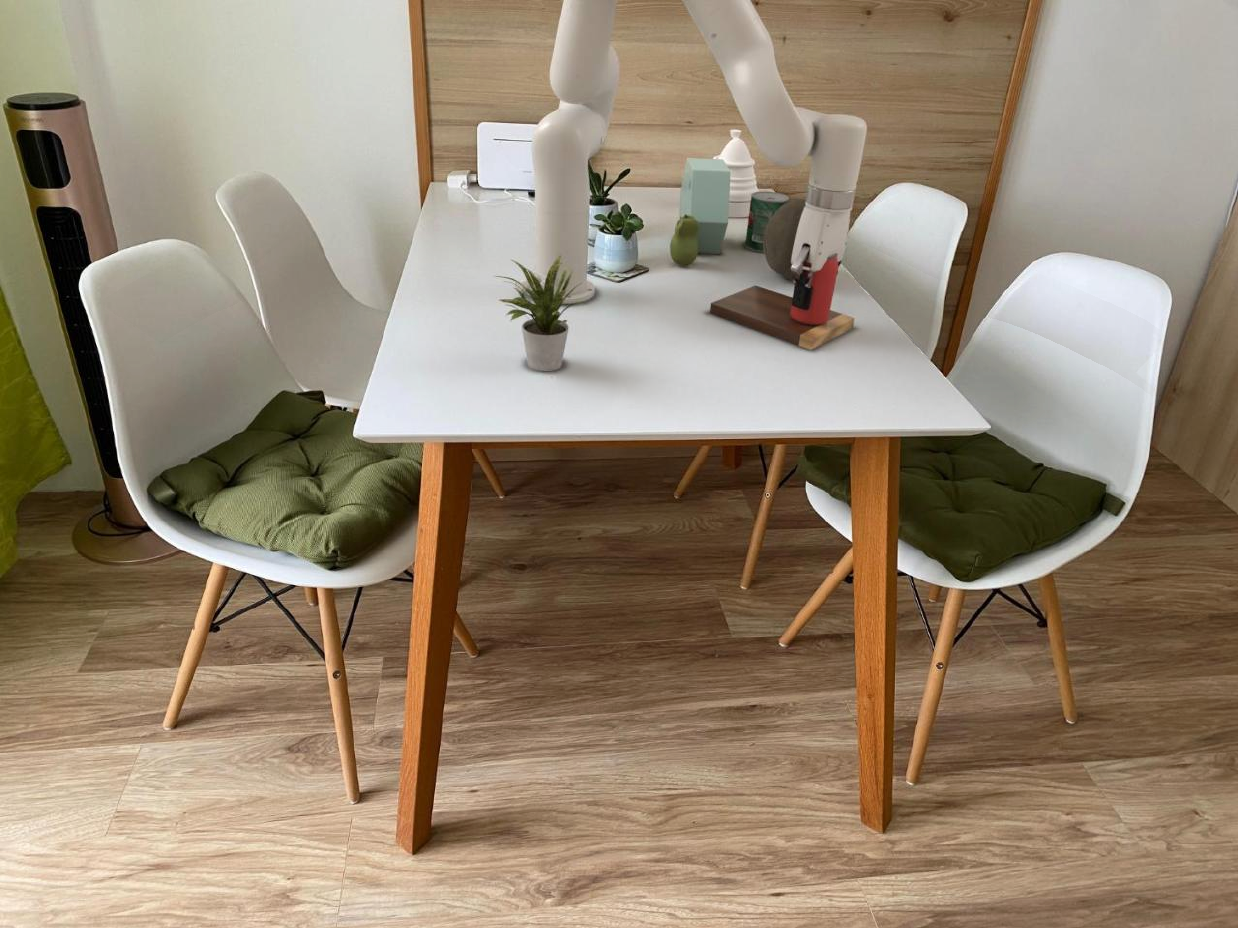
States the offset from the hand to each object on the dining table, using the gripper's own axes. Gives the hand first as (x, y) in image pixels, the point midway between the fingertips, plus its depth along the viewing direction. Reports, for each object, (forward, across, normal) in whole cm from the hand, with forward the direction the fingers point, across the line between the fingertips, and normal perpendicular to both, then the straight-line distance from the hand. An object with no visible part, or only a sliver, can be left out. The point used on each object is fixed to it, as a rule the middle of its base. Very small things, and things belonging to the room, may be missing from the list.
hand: (811, 301), depth 155 cm
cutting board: (+5, 0, -6) cm, 8 cm away
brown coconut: (+5, -22, -16) cm, 28 cm away
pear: (+5, -10, -36) cm, 37 cm away
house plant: (+5, +43, -21) cm, 48 cm away
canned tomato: (+5, -33, -32) cm, 46 cm away
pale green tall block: (+5, -22, -40) cm, 46 cm away
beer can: (+3, 0, 0) cm, 3 cm away
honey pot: (+5, -51, -54) cm, 74 cm away
